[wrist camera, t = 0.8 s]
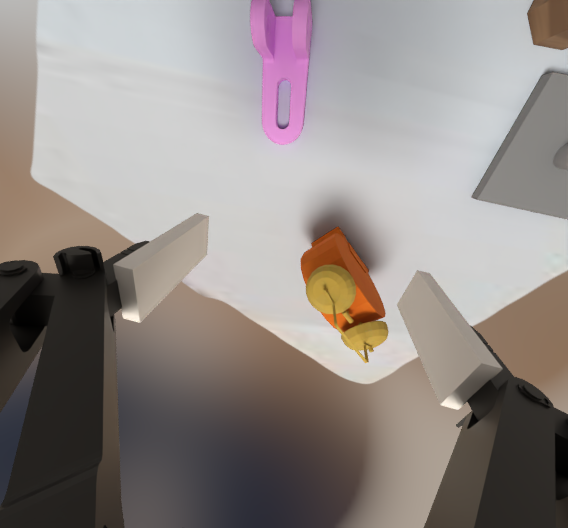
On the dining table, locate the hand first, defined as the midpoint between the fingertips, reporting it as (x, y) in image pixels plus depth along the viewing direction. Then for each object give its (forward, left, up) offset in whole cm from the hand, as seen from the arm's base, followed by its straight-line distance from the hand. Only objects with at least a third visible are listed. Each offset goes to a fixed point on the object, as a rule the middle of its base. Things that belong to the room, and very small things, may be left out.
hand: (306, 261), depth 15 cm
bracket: (-11, -7, -25) cm, 28 cm away
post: (-10, +29, -25) cm, 39 cm away
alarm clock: (+11, +7, -25) cm, 28 cm away
